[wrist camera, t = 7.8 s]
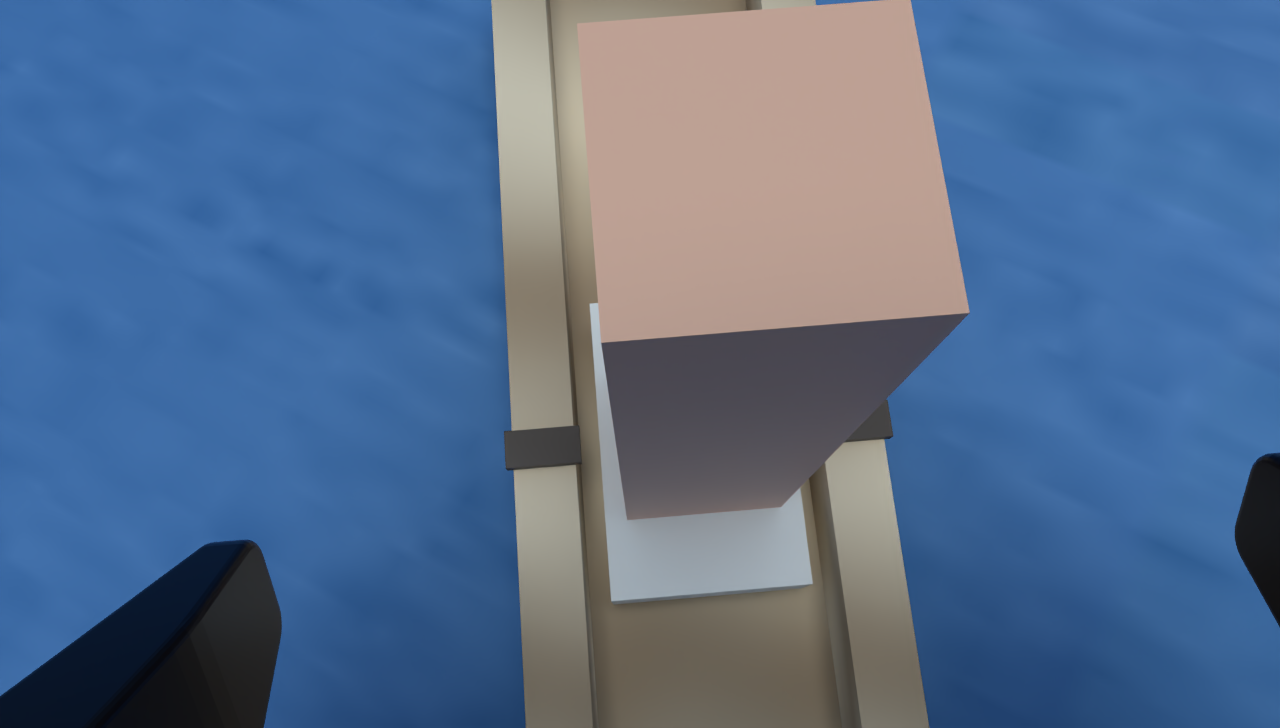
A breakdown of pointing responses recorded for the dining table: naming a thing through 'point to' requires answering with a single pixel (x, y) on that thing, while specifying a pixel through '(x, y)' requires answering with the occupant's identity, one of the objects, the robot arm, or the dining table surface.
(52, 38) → the dining table surface
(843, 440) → the fader tab
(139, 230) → the dining table surface
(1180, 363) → the dining table surface
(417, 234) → the dining table surface
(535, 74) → the fader track
